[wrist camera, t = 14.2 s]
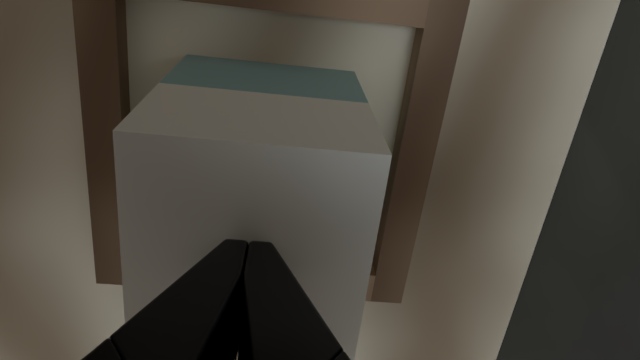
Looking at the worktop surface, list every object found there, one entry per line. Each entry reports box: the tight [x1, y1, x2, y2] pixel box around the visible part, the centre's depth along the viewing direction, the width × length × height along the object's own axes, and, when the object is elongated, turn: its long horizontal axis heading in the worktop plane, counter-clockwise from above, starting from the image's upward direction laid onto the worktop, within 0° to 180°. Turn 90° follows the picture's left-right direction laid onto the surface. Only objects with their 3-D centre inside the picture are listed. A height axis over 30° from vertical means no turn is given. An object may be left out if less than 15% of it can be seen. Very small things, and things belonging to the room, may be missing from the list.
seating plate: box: [0, 0, 621, 360], centre depth 15 cm, size 18×18×2 cm
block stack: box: [113, 54, 392, 360], centre depth 12 cm, size 4×4×6 cm
